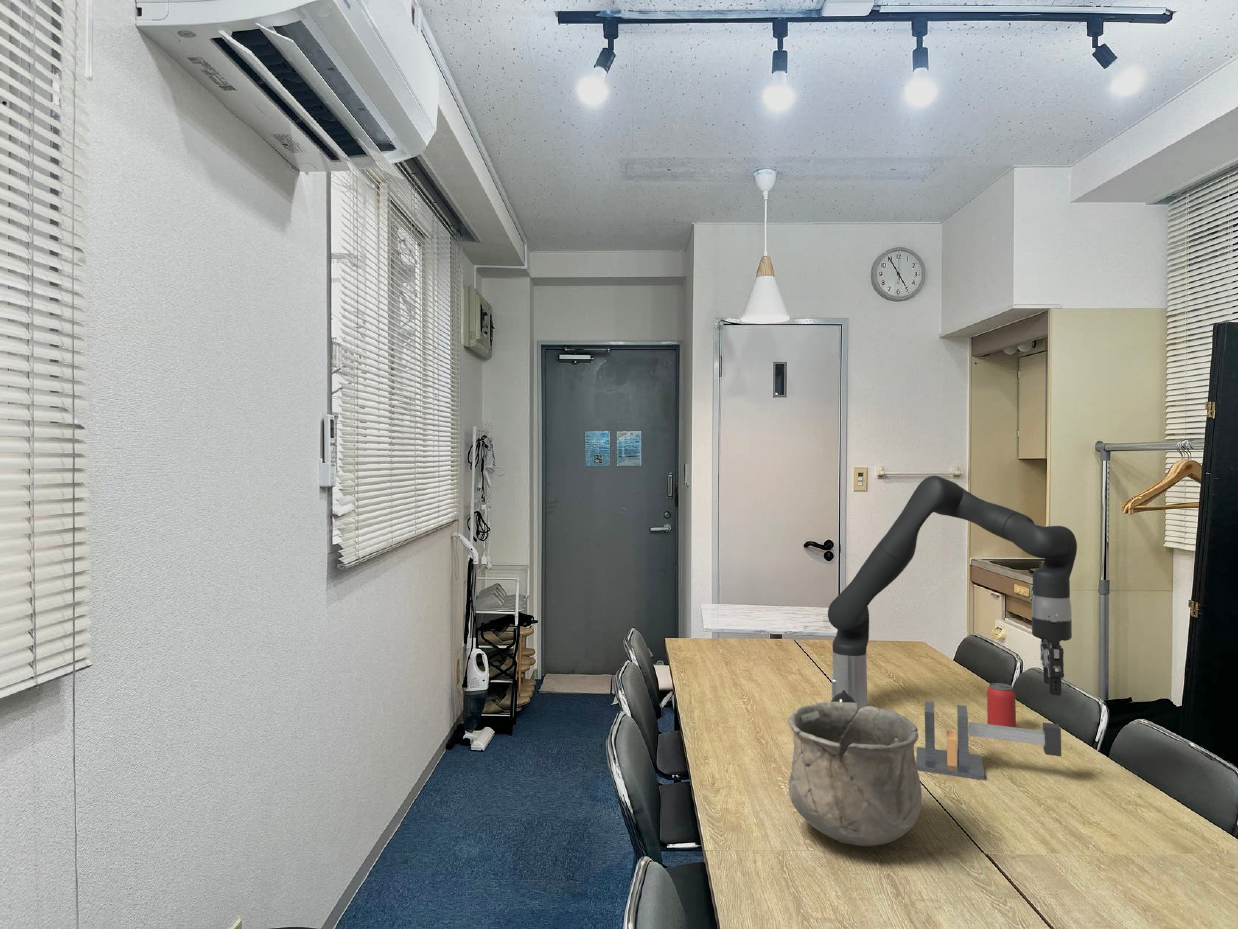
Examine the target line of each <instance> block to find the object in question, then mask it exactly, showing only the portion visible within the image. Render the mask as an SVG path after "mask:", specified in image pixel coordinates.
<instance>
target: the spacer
mask: <svg viewBox="0 0 1238 929" xmlns="http://www.w3.org/2000/svg"><path fill="white" fill-rule="evenodd" d="M946 751H947V765H949V766H956V767H957V752H958V738H957V731H956V730H955V731H954V730H948V729H946Z"/></svg>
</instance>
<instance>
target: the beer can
mask: <svg viewBox="0 0 1238 929" xmlns="http://www.w3.org/2000/svg"><path fill="white" fill-rule="evenodd" d="M1016 700H1017V699H1016V693H1015V691H1014V687H1013V686H1012V685H1010V684H1006V683H1001V682H992V683H989V684H988V688H987V691H986V713H987V714H986V715H987V723H986V724H990V725H999V726H1007V727H1015V728H1017V717H1016V716H1017V711H1016V710H1017V704H1016V703H1017V702H1016Z"/></svg>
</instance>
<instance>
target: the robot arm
mask: <svg viewBox="0 0 1238 929" xmlns="http://www.w3.org/2000/svg"><path fill="white" fill-rule="evenodd" d="M933 513H934V514H935V513H936V514H938V515H941V516H948V517H953V518H956V519H961V520H965V521H967V522H969V523H973V524H975V525H977V526H979V527H981V528H982V529H984V530H985V531H987V532H989V533H991V534H993V535H995V536H997V537H998V538H1001V539H1003V540H1006V541H1008V542H1011V543H1013V544H1014V545H1015V546H1016V547H1017V548H1019V549H1021V550H1022V551H1023V552H1025V553H1026V554H1028V555H1030V556H1032V557H1034V558H1039V559H1044V561H1043V564H1042V566H1041V567H1038V568H1036V570H1034V571H1033V573H1032V600H1031V633H1032V635H1033V637H1035V638H1037V639H1040V644H1039V647H1040V660H1041V665H1042V668H1043V670H1042V672H1043V673H1042V674H1043V675H1042V677H1043V678H1042V679H1043V683H1044V684H1046V685H1048V693H1049V695H1051V696H1056V697H1060V696H1062V679H1064V677H1065V672H1064V670H1065V669H1064V664H1065V662H1064V653H1065V652H1064V651H1065V650H1064V648H1063V647H1062V645H1061V642H1062V641H1064V642H1065V641H1069V640H1071V639H1072V636H1073V635H1072V634H1073V633H1072V632H1073V631H1072V630H1073V628H1072V603H1071V590H1070V589H1071V588H1070V587H1071V585H1070V584H1071V581H1070V577H1071V574H1072V572H1073V569H1074V565H1075V561H1076V557H1077V553H1078V552H1077V551H1078V542H1077V539H1076V536H1075V534H1074V532H1073V531H1072V530H1071V529H1069V528H1068V527H1066V526H1063V525H1049V526H1048V525H1047V526H1045V525H1044V526H1041V525H1039V524H1038V525H1037V524H1035V522H1034V520H1033V519H1032V518H1031V517H1030V516H1028V515H1026V514H1024V513H1021V512H1019V511H1016V510H1014V509H1011V508H1008V507H1006V506H1002V505H1001V504H1000V505H999V504H996V503H993V502H989V501H986V500H984V499H983V498H982V499H981V498H979V497H977V496H976V495H974V494H972V493H971V492H969V491H968V490H966V489H965V488H963V487H961V486H960V485H959V484H957V483H956V482H954V481H951V480H950V479H946V478H944V477H941V476H938V475H930V476H928V477H926V478H924V479H922V481H920V483H918V485H917V487H916V488H915V489H914V491H913V492H912V495H911V496H910V498H909V499H908V501H907V503H906V504H905V506H904V507H903V509H902V511H901V512H900V514H899V515H898V517H897V519H896V520H895V521H894V522H893V524H892V525H891V527H890V528H889V529H888V531H887V532H886V534H884V536H883V537H882V538H881V540H879V542H878V543H877V545H875V547H874V549H872V551H871V552H870V554H869V556H868V557H867V558H866V560H865V561H864V562H863V563H862V565H861V567H860V568H859V570H858V571H857V573H856V574H855V576H854V578H853V579H852V580H851V581H850V582H849V584H847V585H846V587H845V588H844V589H843V590H842V591H841V592H840V593H839V594H838V595H837V596H836V597H835V598H834V599H833V600H832V602H831V603H830V604H829V607H828V610H827V619H828V621H829V624H831V627H833V628H835V629H837V630H836V635H835V637H834V640H833V641H832V679H831V699H832V698H833V697H834V696H835V695H836V694H838V693H842V691H843V690H845V691H846V693H847V694H849V695H851V696H852V697H853V698H854V700H855V701H856V703H858V706H859V708H863V707H865V706H868V672H867V671H868V670H867V669H868V665H867V663H868V662H867V660H868V659H867V654H868V653H867V649H868V644H869V639H870V610H869V607H868V606H869V605H870V604H871V602H872V601H873V600H874V598H876V596H877V595H879V594H880V593H881V592H883V590H885V588H887V587H888V586H889V585H890V584H892V583H893V582H894V581H895V580H896V579H898V577H899V576H900V575H901V574H902V572H904V570H906V568H907V566H908V565H909V563H910V562H911V561H912V560H913V558H914V555H915V553H916V549H917V542H918V536H919V533H920V529H921V528H922V526H923V524H924V523H925V522H926V521H927V519H928V518H929V517H930V516H931V515H932V514H933ZM1056 669H1057V671H1056Z"/></svg>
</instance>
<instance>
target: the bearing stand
mask: <svg viewBox="0 0 1238 929" xmlns="http://www.w3.org/2000/svg"><path fill="white" fill-rule="evenodd" d="M956 706H957V707H956V710H957V712H956V717H957V725H956V726H957V767H956V766H949V765H947V750H946V749H945V750H944V749H936V746H935V745H936V742H935V741H936V739H935V738H936V737H935V736H936V735H935V732H936V730H935V701H926V700H925V701H924V747H923V746H922V747H921V746H916V758H915V761H916V766H917V771H921V772H926V771H927V773H934V774H940V775H947V776H954V777H961V778H967V779H972V780H973V779H974V780H981V781H985V771H984V765H983V759H982V755H980V754H972V753H970V752H969V749H970V748H969V714H968V706H967V705H962V704H957V705H956Z"/></svg>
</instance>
